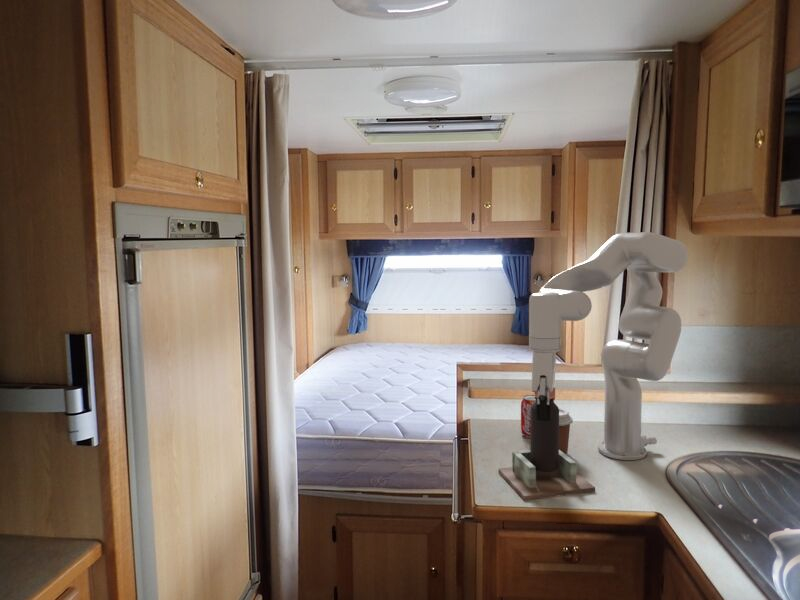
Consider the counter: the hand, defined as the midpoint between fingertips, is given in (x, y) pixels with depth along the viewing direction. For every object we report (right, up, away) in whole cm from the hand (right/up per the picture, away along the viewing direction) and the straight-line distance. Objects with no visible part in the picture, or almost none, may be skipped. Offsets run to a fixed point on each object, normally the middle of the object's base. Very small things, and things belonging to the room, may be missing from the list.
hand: (544, 415), depth 136 cm
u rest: (+1, -17, +2) cm, 17 cm away
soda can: (+5, -13, +34) cm, 37 cm away
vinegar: (0, -13, +1) cm, 13 cm away
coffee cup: (+8, -15, +20) cm, 26 cm away
